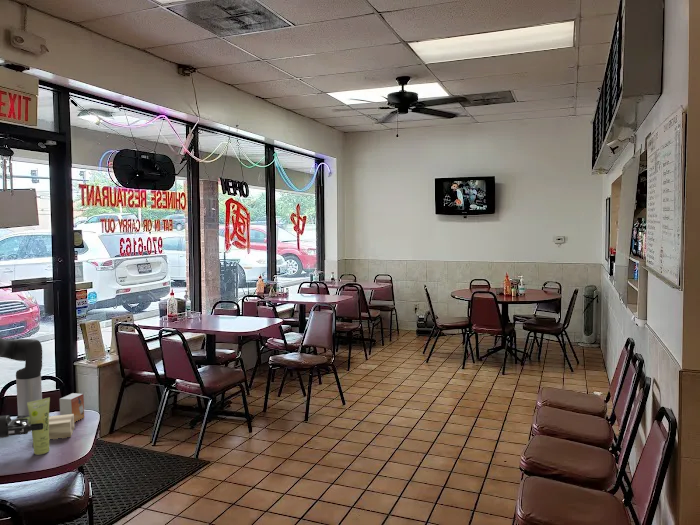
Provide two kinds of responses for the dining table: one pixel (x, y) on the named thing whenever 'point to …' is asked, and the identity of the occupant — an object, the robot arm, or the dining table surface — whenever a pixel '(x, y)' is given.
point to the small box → (73, 405)
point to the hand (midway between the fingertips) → (45, 422)
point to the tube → (40, 415)
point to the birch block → (61, 426)
